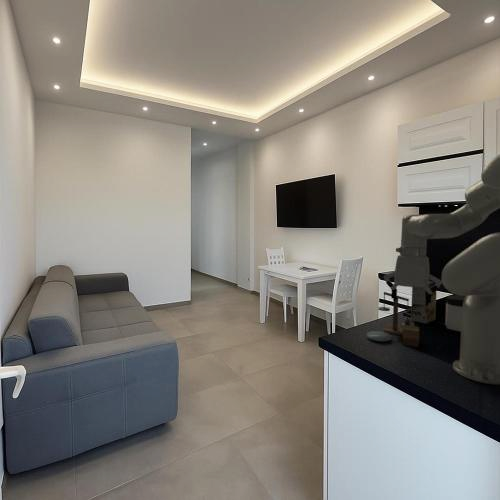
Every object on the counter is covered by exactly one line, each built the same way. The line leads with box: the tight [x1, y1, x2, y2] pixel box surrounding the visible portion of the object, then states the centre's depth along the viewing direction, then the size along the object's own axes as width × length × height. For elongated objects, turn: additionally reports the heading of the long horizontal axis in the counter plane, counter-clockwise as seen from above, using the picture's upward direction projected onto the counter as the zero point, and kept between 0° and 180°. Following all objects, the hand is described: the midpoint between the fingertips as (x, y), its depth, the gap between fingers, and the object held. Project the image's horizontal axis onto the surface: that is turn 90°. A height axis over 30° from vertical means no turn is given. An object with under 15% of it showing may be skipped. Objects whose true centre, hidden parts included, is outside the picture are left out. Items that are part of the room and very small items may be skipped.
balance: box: [378, 291, 414, 337], centre depth 116 cm, size 4×12×15 cm, turn 58°
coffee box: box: [410, 280, 438, 325], centre depth 130 cm, size 9×6×16 cm
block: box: [402, 325, 420, 348], centre depth 105 cm, size 4×4×6 cm
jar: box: [444, 294, 465, 333], centre depth 120 cm, size 9×8×12 cm
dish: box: [366, 330, 392, 343], centre depth 110 cm, size 8×8×1 cm
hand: (410, 302), depth 105 cm, fingers open, 9 cm apart
